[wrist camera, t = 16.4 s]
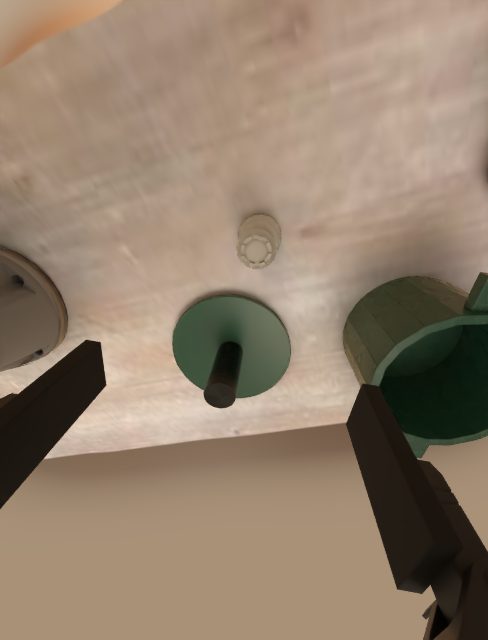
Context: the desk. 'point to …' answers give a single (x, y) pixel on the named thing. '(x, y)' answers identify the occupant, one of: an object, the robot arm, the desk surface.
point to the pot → (425, 357)
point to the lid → (231, 348)
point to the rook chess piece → (258, 241)
